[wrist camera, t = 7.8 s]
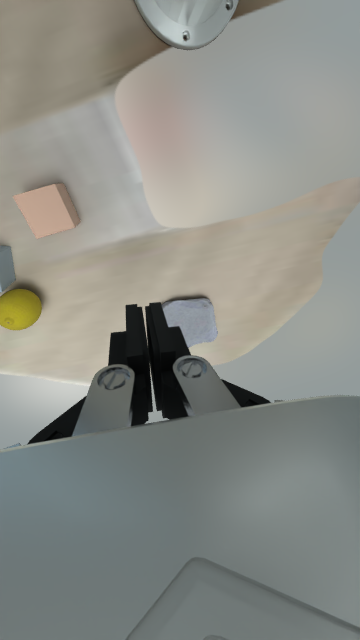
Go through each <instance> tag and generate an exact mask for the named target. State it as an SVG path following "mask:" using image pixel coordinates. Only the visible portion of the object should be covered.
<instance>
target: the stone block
mask: <svg viewBox="0 0 360 640" xmlns="http://www.w3.org/2000/svg"><path fill="white" fill-rule="evenodd" d="M162 308H163V311H164V315H165V318H166V321H167V324H168V327H175V326H179V327H180V329H181V331H182V334H183V336H184V339H185V341H186V344H187V346H188V348H189V347H191V346H193V345H195V344H199V343H202V342H212V341H214V340H215V338H216V337H217V334H218V331H217V328H216V323H215V315H214V308H213V305H212V303H211V302H210V300H209V299H205V298H202V299H193V300H191V299H190V300H178V301H172V302H165V303H164V304H162Z"/></svg>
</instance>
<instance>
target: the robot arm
mask: <svg viewBox="0 0 360 640" xmlns="http://www.w3.org/2000/svg"><path fill="white" fill-rule="evenodd" d="M134 1H135V3H136V5H137V7H138V10H139V12H140V14H141V15H142V17H143V18H144V20H145V22H146V23H147V25H148V26H149V27H150V28H151V30H152V31H153V32H154V33H155V34H156V35H157V36H158V37H159V38H160V39H162V40H163V41H164V42H165V43H167V44H169V45H171V46H173V47H175V48H178V49H183V50H193V49H199V48H201V47H204V46H206V45H208V44H209V43H211V42H212V41H213V40H215V39H216V37H218V35H219V34H220V33H221V32H222V31H223V30H224V28H225V26H226V25H227V24H228V22H229V21H230V19H231V17H232V15H233V13H234V11H235V9H236V7H237V4H238V1H239V0H134ZM226 7H228V10H227V9H226ZM183 37H185V38H186V40H187V41H184V40H183ZM145 310H146V325H147V338H146V331H145V325H144V318H143V311H142V307H137V304H133V305H126V331H124V332H114V333H111V338H110V350H109V363H108V366H107V367H104V368H103V369H101V370H99V371H98V372H97V373H96V374H95V376H94V378H93V380H92V383H91V386H90V388H89V391H88V394H87V396H86V397H84V398H83V399H82V400H80V401H79V402H78V403H77V404H75V405H74V406H72V407H71V408H70V409H69V410H67V411H66V412H65V413H63V414H62V415H61V416H59V417H58V418H57V419H56V420H54V421H53V422H52V423H50V424H49V425H48V426H46V427H45V428H44V429H43V430H41V431H40V432H39V433H38V434H36V435H35V436H34V437H33V438H32V439H31V440H30V441H29V443H28V444H27V445H23V446H21V444H20V443H19V444H16V445H13V446H10V447H7V448H4V449H2V450H0V640H360V396H349V395H331V396H318V397H310V398H303V399H294V400H288V401H282V400H281V401H280V400H275V402H274V403H271V402H270V401H269V400H267V399H265V398H263V397H261V396H259V395H256V394H254V393H252V392H250V391H248V390H245V389H243V388H240V387H238V386H236V385H234V384H231V383H229V382H227V381H225V380H222V379H220V377H219V376H218V375H217V373H216V372H215V370H214V369H213V368H212V366H211V365H210V363H209V362H208V361H207V360H205V359H204V358H202V357H199V356H193V355H191V354H190V352H189V349H188V346H187V344H186V341H185V339H184V336H183V334H182V331H181V329H180V327H179V326H175V327H168V324H167V321H166V318H165V315H164V311H163V308H162V305H161V302H158V303H149V306H145ZM147 339H148V345H147ZM149 361H150V362H149ZM150 368H151V375H152V381H153V389H154V395H155V402H156V409H157V411H161V410H162V416H163V418H168V419H170V420H166V421H159V422H153V423H148V424H145V423H146V421H148V412H153V406H152V393H151V377H150Z"/></svg>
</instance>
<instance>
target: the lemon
mask: <svg viewBox="0 0 360 640" xmlns="http://www.w3.org/2000/svg"><path fill="white" fill-rule="evenodd" d="M41 310H42V305H41V302H40V299H39V298H38V297H37V296H36V295H35V294H34V293H33V292H31V291H28V290H25V289H14V290H11V291H8V292H6V293H5V294H3V295H2V296H1V297H0V325H1V326H3V327H5V328H7V329H10V330H22V329H26V328H28V327H29V326H31V325H33V324H34V323H35V322H36V321H37V320H38V318H39V316H40V314H41Z"/></svg>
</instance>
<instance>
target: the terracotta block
mask: <svg viewBox="0 0 360 640" xmlns="http://www.w3.org/2000/svg"><path fill="white" fill-rule="evenodd" d="M13 198H14V200H15V201H16V203H17V205H18V207H19V208H20V210H21V212H22V214H23V216H24V217H25V219H26V221H27V223H28V224H29V226H30V228H31V230H32V232H33V233H34V235H35V237H36V239H38V238H42V237H45V236H48V235H52V234H55V233H58V232H61V231H65V230H68V229H71V228H75V227H76V226H77V225H78V224H79V223H80V222H81V221H80V219H79V217H78V215H77V212H76V210H75V208H74V206H73V203H72V201H71V199H70V197H69V194H68V192H67V190H66V188H65V185H64V183H60V184H52V185H48V186H45V187H42V188H38V189H35V190H31V191H28V192H24V193H21V194H18V195H14V196H13Z"/></svg>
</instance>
